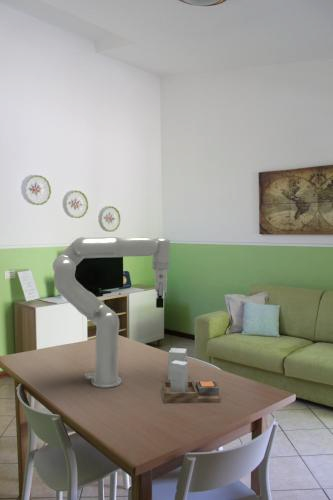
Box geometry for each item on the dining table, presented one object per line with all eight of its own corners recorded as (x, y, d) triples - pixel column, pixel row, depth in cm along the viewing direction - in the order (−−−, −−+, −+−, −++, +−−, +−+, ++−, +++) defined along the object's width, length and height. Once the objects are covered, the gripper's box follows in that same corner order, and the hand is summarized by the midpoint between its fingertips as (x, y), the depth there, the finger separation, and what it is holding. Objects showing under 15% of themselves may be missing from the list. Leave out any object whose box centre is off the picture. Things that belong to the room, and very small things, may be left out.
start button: (201, 392, 171) (201, 386, 171) (199, 387, 176) (199, 381, 176) (214, 392, 171) (214, 386, 171) (212, 387, 176) (212, 381, 176)
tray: (163, 403, 165) (163, 391, 165) (161, 389, 179) (161, 378, 179) (220, 402, 167) (220, 390, 167) (213, 388, 181) (213, 378, 181)
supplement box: (184, 381, 189) (184, 353, 188) (167, 380, 190) (167, 351, 189) (186, 375, 196) (187, 348, 195) (170, 374, 197) (171, 347, 197)
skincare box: (188, 391, 174) (188, 362, 173) (184, 395, 170) (184, 365, 169) (174, 388, 176) (174, 359, 175) (169, 392, 172) (170, 362, 172)
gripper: (170, 268, 184) (168, 310, 185) (168, 265, 199) (167, 304, 200) (152, 267, 184) (151, 310, 185) (152, 264, 199) (151, 304, 200)
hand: (159, 307), depth 192 cm, fingers closed
